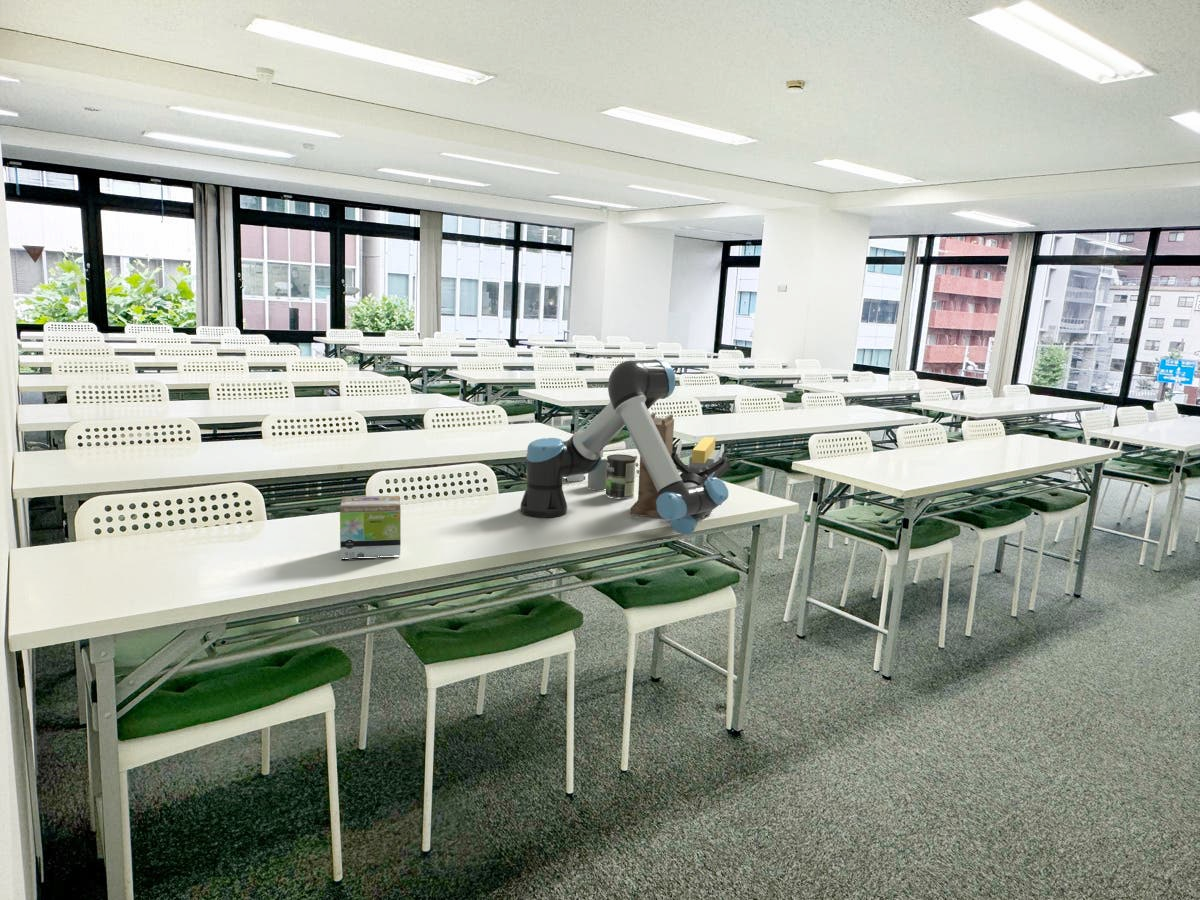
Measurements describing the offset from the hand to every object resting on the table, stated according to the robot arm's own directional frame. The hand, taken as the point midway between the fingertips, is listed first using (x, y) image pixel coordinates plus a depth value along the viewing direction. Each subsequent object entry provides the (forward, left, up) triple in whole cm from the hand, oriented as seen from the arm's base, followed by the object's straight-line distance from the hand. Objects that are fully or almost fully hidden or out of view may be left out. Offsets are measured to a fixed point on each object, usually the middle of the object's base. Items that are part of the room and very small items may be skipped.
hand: (701, 445), depth 239 cm
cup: (-40, +24, -24) cm, 52 cm away
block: (0, +8, -5) cm, 9 cm away
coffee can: (-30, +16, -24) cm, 41 cm away
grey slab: (0, +11, -24) cm, 26 cm away
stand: (-15, +3, -24) cm, 28 cm away
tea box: (-76, -70, -24) cm, 106 cm away
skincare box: (-54, +34, -24) cm, 68 cm away
